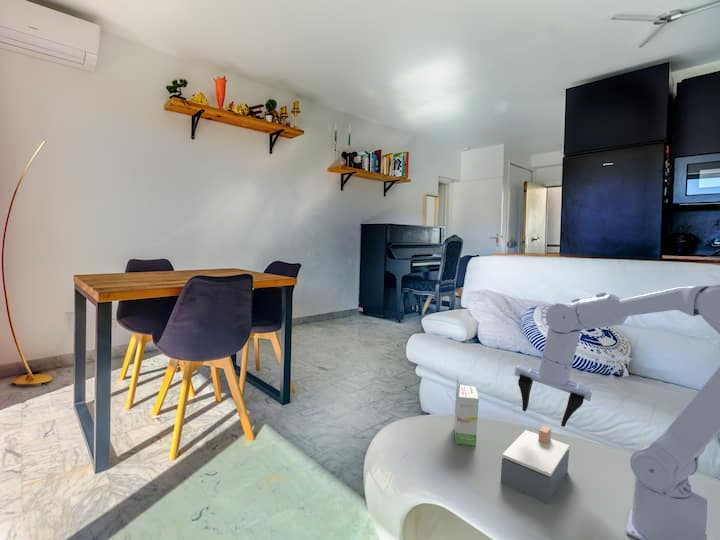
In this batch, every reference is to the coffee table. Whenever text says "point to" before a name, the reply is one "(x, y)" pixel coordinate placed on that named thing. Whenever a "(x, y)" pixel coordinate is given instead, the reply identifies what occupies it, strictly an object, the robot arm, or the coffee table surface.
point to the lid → (537, 451)
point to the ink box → (466, 414)
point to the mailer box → (533, 479)
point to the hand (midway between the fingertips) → (543, 416)
